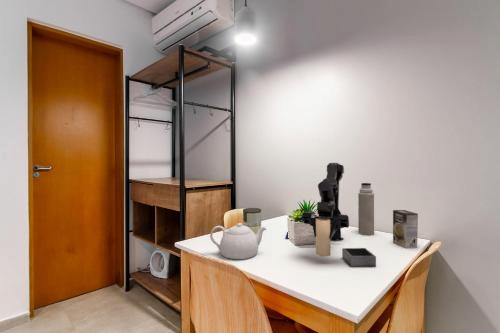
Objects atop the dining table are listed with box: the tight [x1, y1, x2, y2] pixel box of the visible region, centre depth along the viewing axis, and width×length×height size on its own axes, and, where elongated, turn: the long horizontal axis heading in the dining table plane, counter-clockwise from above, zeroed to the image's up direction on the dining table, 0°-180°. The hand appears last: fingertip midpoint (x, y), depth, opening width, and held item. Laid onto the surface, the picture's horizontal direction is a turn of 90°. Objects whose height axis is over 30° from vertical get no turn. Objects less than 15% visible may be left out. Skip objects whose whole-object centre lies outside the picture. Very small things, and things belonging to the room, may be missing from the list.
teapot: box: [209, 222, 267, 260], centre depth 118 cm, size 19×18×14 cm
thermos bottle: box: [357, 182, 375, 236], centre depth 146 cm, size 8×8×28 cm
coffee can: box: [242, 207, 262, 235], centre depth 147 cm, size 10×10×14 cm
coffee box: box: [392, 209, 419, 249], centre depth 126 cm, size 9×6×16 cm
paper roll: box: [315, 218, 331, 257], centre depth 107 cm, size 6×6×14 cm
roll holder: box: [341, 247, 377, 268], centre depth 106 cm, size 10×10×4 cm
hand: (322, 237), depth 105 cm, fingers closed on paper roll, 6 cm apart
